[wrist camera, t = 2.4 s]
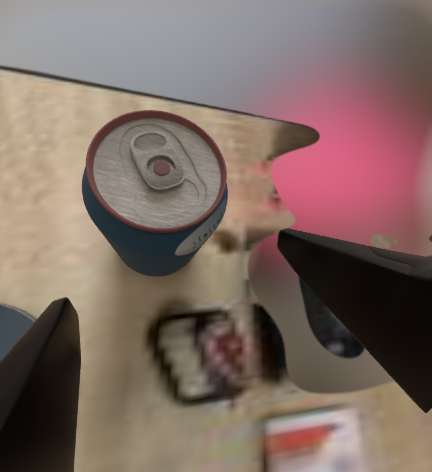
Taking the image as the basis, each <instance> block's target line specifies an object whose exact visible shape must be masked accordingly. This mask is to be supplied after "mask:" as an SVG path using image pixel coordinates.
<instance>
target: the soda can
mask: <svg viewBox="0 0 432 472" xmlns="http://www.w3.org/2000/svg"><path fill="white" fill-rule="evenodd" d="M226 180H227V171H226V165H225V161H224V158H223V156H222V154H221V152H220V150H219V148H218V146H217V145H216V143H215V142H214V141H213V139H212V138H211V137H210V136H209V135H208V134H207V133H206V132H205V131H204V130H203V129H201V128H200V127H199V126H197V125H196V124H195V123H193V122H191V121H189V120H187V119H185V118H183V117H181V116H178V115H175V114H172V113H168V112H163V111H155V110H144V111H136V112H131V113H127V114H124V115H121V116H119V117H117V118H115V119H113V120H112V121H110V122H108V123H107V124H106V125H105V126H103V127H102V128H101V129H100V130H99V131H98V133H97V134H96V135H95V137H94V138H93V140H92V142H91V144H90V146H89V149H88V152H87V157H86V167H85V170H84V174H83V179H82V194H83V200H84V204H85V206H86V209H87V211H88V214H89V215H90V217H91V219H92V220H93V222H94V223H95V225H96V226H97V227H98V229H99V230H100V231H101V232H102V234H103V235H104V236H105V238H106V239H107V240H108V242H109V243H110V244H111V246H112V247H113V248H114V250H115V251H116V252H117V253H118V255H119V256H120V257H121V259H122V260H123V261H124V262H125V263H126V264H127V265H128V266H129V267H130V268H132V269H133V270H135V271H137V272H139V273H141V274H144V275H149V276H164V275H168V274H171V273H174V272H176V271H178V270H180V269H181V268H182V267H184V266H185V265H186V264H187V263H188V262H189V261H190V260H191V258H192V257H193V256H194V255H195V254H196V252H197V251H198V250H199V249H200V248H201V246H202V245H203V244H204V243H205V242H206V240H207V239H208V238H209V237H210V236H211V235H212V233H213V232H214V231H215V230H216V228H217V227H218V225H219V224H220V222H221V220H222V218H223V216H224V213H225V210H226V206H227V198H228V190H227V183H226Z"/></svg>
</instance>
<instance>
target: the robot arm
mask: <svg viewBox="0 0 432 472" xmlns="http://www.w3.org/2000/svg"><path fill="white" fill-rule="evenodd" d="M277 247H278V249H279V251H280V252H281V254H282V255H283V256H284V258H285V259H286V260H287V262H288V263H289V264H290V266H291V267H292V268H293V269H294V271H295V272H296V273H297V274H298V276H299V277H300V278H301V279H302V280H303V281H304V282H305V283H306V284H307V285H308V287H309V288H310V289H311V290H312V291H313V292H314V293H315V294H316V295H317V296H318V297H319V298H320V300H321V301H322V302H323V303H324V304H325V305H326V306H327V307H328V308H329V309H330V310H331V312H332V313H333V314H334V315H335V316H336V317H337V318H338V319H339V320H340V321H341V322H342V324H343V325H344V326H345V327H346V328H347V329H348V330H349V331H350V332H351V333H352V334H353V336H354V337H355V338H356V339H357V340H358V341H359V342H360V343H361V344H362V345H363V346H364V347H365V349H366V350H367V351H368V352H369V353H370V354H371V355H372V356H373V357H374V359H375V360H376V361H377V362H378V363H379V364H380V365H381V366H382V367H383V368H384V369H385V371H387V373H388V374H389V375H390V376H391V377H392V378H393V379H394V380H395V381H396V383H397V384H398V385H399V386H400V387H401V388H402V389H403V390H404V391H405V392H406V393H407V395H408V396H409V397H410V398H411V399H412V400H413V401H414V402H415V403H416V404H417V405H418V406H419V407H420V408H421V409H422V410H423V411H424V412H425V413H427V412H428V411H429V410H430V409H431V408H432V258H430V257H425V256H419V255H412V254H407V253H401V252H396V251H390V250H386V249H381V248H376V247H371V246H366V245H362V244H357V243H353V242H348V241H343V240H339V239H334V238H330V237H325V236H320V235H316V234H311V233H306V232H302V231H297V230H292V229H283V230H280V231H279V234H278V242H277ZM80 369H81V349H80V334H79V319H78V314H77V312H76V310H75V308H74V307H73V305H72V303H71V302H70V300H69V299H68V298H66V297H64V298H61V299H58V300H55V301H53V302H52V303H51V304H50V305H49V306H48V307H47V308H46V310H45V311H44V312H43V313H42V314H41V315H40V316H39V318H38V319H37V320H36V321H35V322H34V323H33V325H32V326H31V327H30V328H29V329H28V330H27V331H26V333H25V334H24V335H23V336H22V337H21V338H20V339H19V341H18V342H17V343H16V344H15V345H14V346H13V347H12V349H11V350H10V351H9V352H8V353H7V354H6V355H5V357H4V358H3V359H2V360H1V361H0V472H74V458H75V443H76V428H77V413H78V399H79V384H80Z"/></svg>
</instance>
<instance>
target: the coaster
mask: <svg viewBox="0 0 432 472" xmlns="http://www.w3.org/2000/svg"><path fill="white" fill-rule="evenodd" d="M36 320H37V319H36V318H34V317H33V316H31V315H30V314H28V313H26V312H25V311H23V310H20V309H18V308H15V307H13V306H9V305H5V304H0V361H1V360H2V359H3V358H4V357H5V355H6V354H7V353H8V352H9V351H10V350H11V349H12V347H13V346H14V345H15V344H16V343H17V342H18V341H19V339H20V338H21V337H22V336H23V335H24V334H25V333H26V331H27V330H28V329H29V328H30V327H31V326H32V325H33V323H34V322H35V321H36Z"/></svg>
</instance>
